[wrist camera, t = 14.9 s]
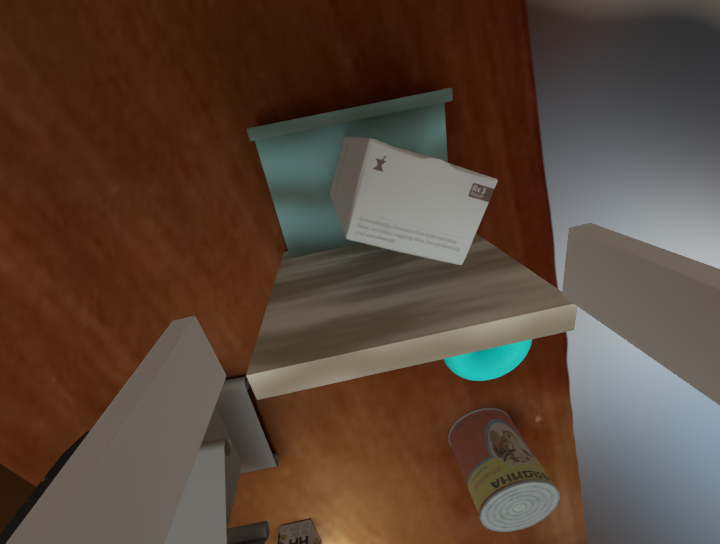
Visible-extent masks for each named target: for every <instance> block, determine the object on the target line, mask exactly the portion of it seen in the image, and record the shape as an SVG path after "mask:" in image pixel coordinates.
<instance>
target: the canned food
mask: <svg viewBox="0 0 720 544" xmlns="http://www.w3.org/2000/svg"><path fill="white" fill-rule="evenodd" d="M448 441H449V444H450V446H451V447H452V450H453V452H454V455H455V457H456V460H457V462H458V464H459V467H460V469H461V472H462V474H463V477H464V479H465V482H466V484H467V487H468V489H469V491H470V494H471V496H472V499H473V501H474V504H475V506H476V509H477V511H478V514H479V516H480V520H481V523H482V524H483V525H484V526H485V527H486V528H488V529H490V530H493V531H498V532H510V531H516V530H521V529H524V528H527V527H530V526H532V525H534V524H536V523H538V522H540V521H541V520H543V519H544V518H546V517H547V516H548V515H550V514H551V513H552V512H553V511H554V509H555V508H556V506H557V505H558V502H559V499H560V494H559V491H558V489H557V488H556V487H555V486H554V485H553V483H552V482H551V480H550V478H549V477H548V475H547V474H546V472H545V471H544V469H543V468H542V466H541V465H540V463H539V462H538V460H537V458H536V457H535V455H534V454H533V452H532V451H531V449H530V448H529V446H528V445H527V443H526V442H525V440H524V438H523V437H522V435H521V434H520V432H519V431H518V429H517V428H516V426H515V425H514V423H513V422H512V420H511V418H510V416H509V415H508V414H507V413H506V412H505V411H503V410H501V409H497V408H481V409H477V410H474V411H471V412H469V413H467V414H465V415H464V416H462V417H461V418H459V419H458V420H457V421H456V422H455V423H454V424H453V426H452V427H451V429H450V431H449V435H448Z"/></svg>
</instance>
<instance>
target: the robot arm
mask: <svg viewBox="0 0 720 544" xmlns="http://www.w3.org/2000/svg"><path fill="white" fill-rule="evenodd" d="M562 296H564V297H565V298H567V299H568V300H569V301H571V302H572V303H574V304H575V305H577V306H578V307H580V308H581V309H583V310H584V311H585V312H587V313H588V314H590V315H591V316H592V317H594V318H595V319H597V320H598V321H600V322H601V323H602V324H604V325H605V326H607V327H608V328H610V329H611V330H613V331H614V332H616V333H617V334H618V335H620V336H621V337H623V338H624V339H626V340H627V341H628V342H630V343H631V344H633V345H634V346H635V347H637V348H638V349H640V350H641V351H643V352H644V353H646V354H647V355H648V356H650V357H651V358H653V359H654V360H656V361H657V362H658V363H660V364H661V365H663V366H664V367H666V368H667V369H669V370H670V371H672V372H673V373H674V374H676V375H677V376H679V377H680V378H682V379H683V380H684V381H686V382H687V383H689V384H690V385H691V386H693V387H694V388H696V389H697V390H699V391H700V392H702V393H703V394H704V395H706V396H707V397H709V398H710V399H712V400H713V401H714V402H716V403H717V404H719V405H720V269H717V268H715V267H712V266H709V265H706V264H704V263H701V262H698V261H695V260H692V259H690V258H686V257H684V256H681V255H679V254H676V253H673V252H670V251H667V250H664V249H662V248H659V247H656V246H653V245H651V244H648V243H644V242H642V241H639V240H636V239H633V238H631V237H628V236H625V235H623V234H620V233H617V232H614V231H611V230H608V229H606V228H603V227H600V226H597V225H595V224H592V223H588V224H584V225H580V226H575V227H572V228H569V234H568V244H567V253H566V262H565V272H564V282H563V291H562ZM225 378H226V374H225V372H224V370H223V368H222V366H221V364H220V362H219V361H218V359H217V357H216V355H215V353H214V351H213V349H212V347H211V345H210V343H209V341H208V340H207V338H206V336H205V334H204V332H203V330H202V328H201V326H200V324H199V322H198V320H197V319H196V317H195V316H192V317H187V318H183V319H179V320H175V321H172V322H171V324H170V325H169V326H168V328H167V329H166V330H165V332H164V333H163V334H162V336H161V337H160V338H159V340H158V341H157V342H156V344H155V345H154V346H153V348H152V349H151V350H150V352H149V353H148V354H147V356H146V357H145V358H144V360H143V361H142V362H141V364H140V365H139V366H138V368H137V369H136V370H135V372H134V373H133V374H132V376H131V377H130V378H129V380H128V381H127V382H126V384H125V385H124V386H123V388H122V389H121V390H120V392H119V393H118V394H117V396H116V397H115V398H114V400H113V401H112V402H111V404H110V405H109V406H108V408H107V409H106V410H105V412H104V413H103V414H102V416H101V417H100V418H99V420H98V421H97V422H96V424H95V425H94V426H93V428H92V429H91V430H90V431H88V432H86V433H85V434H84V435H83V436H82V437H81V438H79V439H78V440H77V441H76V442H75V443H74V444H73V445H72V446H71V447H70V448H69V449H67V450H66V451H65V452H64V453H63V454H62V456H61V457H60V458H59V459H58V461H57V462H56V463H55V465H54V466H53V467H52V468H51V470H50V471H49V472H48V474H47V475H46V476H45V481H44V482H41V483H40V484H39V485H38V486H37V488H36V489H35V490H34V492H33V493H32V494H31V495H30V497H29V501H28V503H25V504H23V506H22V507H21V508H20V510H19V511H18V512H17V513H16V515H15V516H14V517H13V518H12V520H11V521H10V522H9V524H8V525H7V526H6V527H5V529H4V530H3V531H2V533H1V534H0V544H164V543H165V540H166V538H167V535H168V532H169V530H170V527H171V524H172V522H173V519H174V516H175V513H176V511H177V508H178V505H179V503H180V500H181V497H182V494H183V492H184V489H185V486H186V484H187V481H188V478H189V476H190V473H191V470H192V467H193V465H194V462H195V459H196V457H197V454H198V451H199V449H200V446H201V443H202V440H203V438H204V435H205V432H206V430H207V427H208V424H209V421H210V419H211V416H212V413H213V411H214V408H215V405H216V403H217V400H218V397H219V394H220V392H221V389H222V386H223V384H224V381H225Z"/></svg>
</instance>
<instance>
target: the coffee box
mask: <svg viewBox="0 0 720 544" xmlns="http://www.w3.org/2000/svg"><path fill="white" fill-rule="evenodd" d="M278 544H322V542H321V539H320V537H319V535H318V533H317V531H316V529H315V527H314V525H313V523H312V521H311V519H309V520H305V521H300V522H296V523H291V524H287V525H282V526H280V527H279V535H278Z"/></svg>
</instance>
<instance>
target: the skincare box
mask: <svg viewBox="0 0 720 544" xmlns="http://www.w3.org/2000/svg"><path fill="white" fill-rule="evenodd" d="M497 182H498V180H497V179H496V178H492V177H489V176H486V175H483V174H480V173H477V172H474V171H471V170H468V169H465V168H462V167H459V166H456V165H453V164H450V163H447V162H445V161H443V160H440V159H437V158H432V157H429V156H426V155H422V154H419V153H416V152H412V151H409V150H405V149H401V148H398V147H394V146H391V145H388V144H386V143H383V142H381V141H379V140H376V139H373V138H361V137H347V136H345V137H344V139H343V142H342V146H341V150H340V154H339V158H338V162H337V166H336V170H335V174H334V178H333V183H332V187H331V191H330V196H331V199H332V202H333V204H334V207H335V210H336V212H337V215H338V217H339V220H340V223H341V225H342V228H343V231H344V233H345V236H346V239H348V240H352V241H356V242H360V243H365V244H369V245H373V246H377V247H381V248H385V249H389V250H393V251H398V252H402V253H406V254H411V255H415V256H420V257H424V258H429V259H433V260H438V261H443V262H447V263H452V264H457V265H462V264H463V262H464V260H465V258H466V256H467V253H468V251H469V248H470V246H471V244H472V241H473V239H474V236H475V234H476V232H477V229H478V227H479V224H480V222H481V220H482V217H483V215H484V212H485V210H486V208H487V205H488V203H489V200H490V197H491V195H492V193H493V190H494V188H495V186H496V184H497Z"/></svg>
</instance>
